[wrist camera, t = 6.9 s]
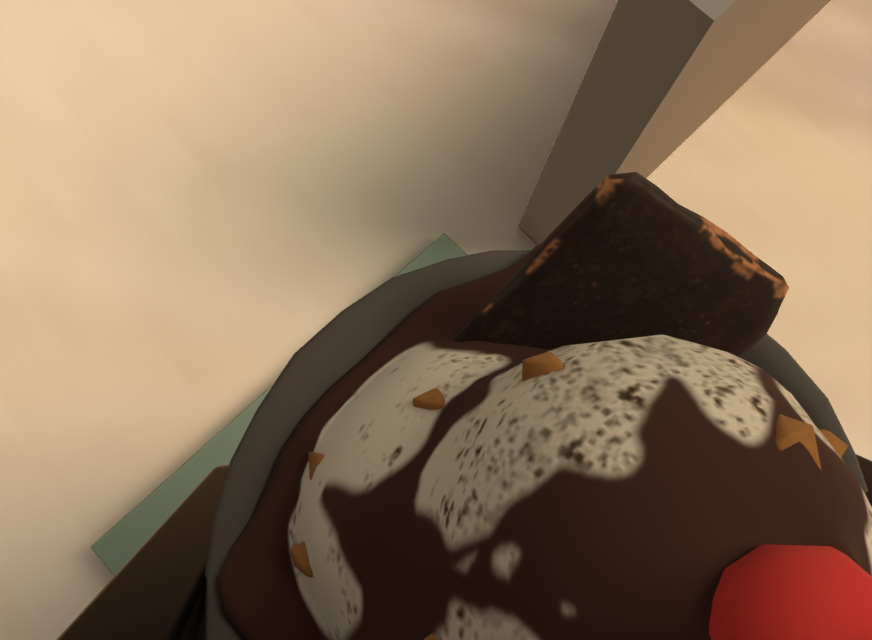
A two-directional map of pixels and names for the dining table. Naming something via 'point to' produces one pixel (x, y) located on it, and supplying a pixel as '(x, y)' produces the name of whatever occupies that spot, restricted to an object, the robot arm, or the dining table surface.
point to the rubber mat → (209, 460)
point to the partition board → (656, 90)
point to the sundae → (550, 455)
